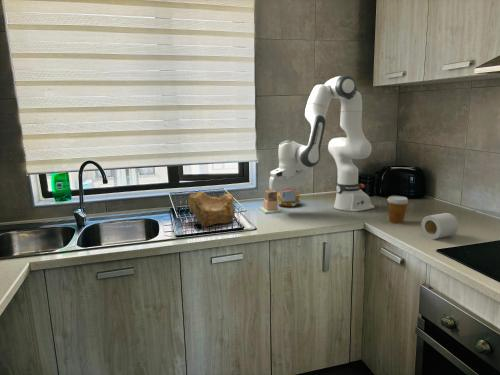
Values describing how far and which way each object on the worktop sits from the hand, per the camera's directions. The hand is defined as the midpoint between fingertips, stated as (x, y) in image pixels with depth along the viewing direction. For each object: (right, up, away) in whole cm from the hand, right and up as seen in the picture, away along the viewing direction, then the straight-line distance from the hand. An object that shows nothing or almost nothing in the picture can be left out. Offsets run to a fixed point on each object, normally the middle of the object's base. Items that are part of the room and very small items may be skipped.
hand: (288, 196), depth 196 cm
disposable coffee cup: (+51, -12, -16) cm, 55 cm away
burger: (+2, -6, +18) cm, 19 cm away
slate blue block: (0, -2, 0) cm, 2 cm away
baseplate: (-9, -8, +7) cm, 14 cm away
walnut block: (-9, -2, +6) cm, 11 cm away
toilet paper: (+61, -17, -37) cm, 73 cm away
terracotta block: (-9, -7, +7) cm, 13 cm away
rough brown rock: (-40, -13, -14) cm, 44 cm away
